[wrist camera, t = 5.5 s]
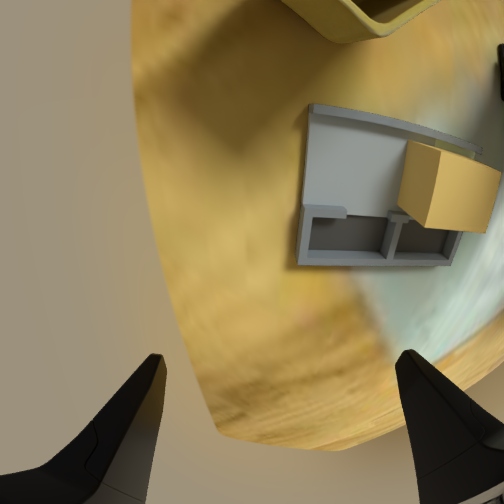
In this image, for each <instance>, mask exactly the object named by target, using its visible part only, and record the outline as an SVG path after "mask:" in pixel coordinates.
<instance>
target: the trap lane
mask: <svg viewBox="0 0 504 504" xmlns="http://www.w3.org/2000/svg"><path fill="white" fill-rule="evenodd" d="M408 140H411V141H415V142H419V143H423V144H426V145H430V146H433V147H437V148H440V149H444V150H447V151H450V152H453V153H456V154H459V155H462V156H465V157H468V158H471V159H473V160H474V157H475V152H476V153H478V154H482V147H479V146H477V145H474V144H472V143H469V142H467V141H464V140H462V139H459V138H456V137H454V136H451V135H448V134H445V133H442V132H439V131H436V130H433V129H430V128H427V127H424V126H420V125H417V124H413V123H410V122H406V121H402V120H399V119H395V118H391V117H386V116H382V115H378V114H373V113H368V112H363V111H358V110H353V109H347V108H341V107H334V106H328V105H320V104H309V114H308V129H307V142H306V155H305V166H304V177H303V188H302V198H301V207H300V217H299V226H298V234H297V242H296V251H295V257H296V261H297V264H298V265H326V266H451V263H452V261H453V258H454V255H455V253H456V250H457V247H458V244H459V242H460V239H461V236H462V233H463V231H457V230H447V229H436V228H424V227H423V226H422V225H421V224H420V223H419V222H417V221H416V220H415V219H414V218H413V217H411V216H410V215H409V214H408V213H407V212H405V211H404V210H403V209H402V208H401V207H399V206H398V205H397V201H398V196H399V191H400V186H401V181H402V175H403V170H404V164H405V157H406V151H407V144H408Z"/></svg>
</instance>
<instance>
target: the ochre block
mask: <svg viewBox="0 0 504 504" xmlns="http://www.w3.org/2000/svg"><path fill="white" fill-rule="evenodd" d="M501 173H502V172H500V171H498V170H495V169H493V168H491V167H489V166H487V165H485V164H482V163H480V162H478V161H475V160H473V159H471V158H468V157H465V156H462V155H459V154H456V153H453V152H450V151H447V150H444V149H440V148H437V147H433V146H430V145H426V144H423V143H419V142H415V141H411V140H408V144H407V151H406V157H405V164H404V170H403V175H402V181H401V186H400V191H399V196H398V201H397V205H398V206H399V207H401V208H402V209H403V210H404V211H405V212H407V213H408V214H409V215H410V216H411V217H413V218H414V219H415V220H416V221H417V222H419V223H420V224H421V225H422V226H423V227H424V228H436V229H447V230H457V231H467V232H476V233H486V230H487V227H488V224H489V220H490V217H491V214H492V210H493V207H494V203H495V199H496V195H497V191H498V187H499V182H500V178H501Z"/></svg>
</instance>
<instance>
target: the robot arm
mask: <svg viewBox="0 0 504 504" xmlns="http://www.w3.org/2000/svg"><path fill="white" fill-rule="evenodd" d="M499 47H500V59H501V97H502V100H503V101H504V44H500V45H499ZM395 370H396V376H397V381H398V388H399V394H400V400H401V404H402V408H403V412H404V416H405V420H406V425H407V429H408V434H409V438H410V443H411V448H412V453H413V458H414V464H415V470H416V477H417V484H418V492H419V500H420V504H504V424H503V423H502V422H500V421H499V420H498V419H496V418H495V417H494V416H492V415H491V414H490V413H488V412H487V411H486V410H484V409H483V408H482V407H480V406H479V405H478V404H477V403H476V402H475V401H473V400H472V399H471V398H470V397H469V396H468V395H467V394H465V393H464V392H463V391H462V390H461V389H460V388H459V387H457V386H456V385H455V384H454V383H453V382H452V381H450V380H449V379H448V378H447V377H446V376H445V375H443V374H442V373H441V372H440V371H439V370H437V369H436V368H435V367H434V366H433V365H432V364H430V363H429V362H428V361H427V360H426V359H424V358H423V357H422V356H421V355H420V354H418V353H417V352H416V351H415V350H413V349H409V350H404V351H403V352H402V354H401V356H400V357H399V359H398V360H397V362H396V364H395ZM166 375H167V368H166V364H165V361H164V358H163V355H161V354H154V353H152V354H150V355H149V356H148V357H147V358H146V359H145V361H144V362H143V363H142V364H141V365H140V366H139V367H138V369H137V370H136V371H135V372H134V373H133V374H132V375H131V376H130V378H129V379H128V380H127V381H126V382H125V383H124V384H123V385H122V386H121V388H120V389H119V390H118V391H117V392H116V393H115V394H114V395H113V397H112V398H111V399H110V400H109V401H108V402H107V403H106V404H105V406H104V407H103V408H102V409H101V410H100V411H99V412H98V414H97V415H96V416H95V417H94V418H93V420H92V421H90V422H89V424H88V425H87V426H86V427H85V428H84V429H83V430H82V431H81V432H80V433H79V434H78V436H77V437H76V438H74V439H73V440H72V441H71V442H70V443H69V444H68V445H67V446H66V447H64V448H63V449H62V450H61V451H60V452H59V453H57V454H56V455H55V456H54V457H53V458H52V459H51V460H49V461H48V462H47V463H45V464H44V465H42V466H40V467H37V468H34V469H30V470H26V471H21V472H16V473H12V474H6V475H0V504H145V501H146V496H147V489H148V483H149V478H150V472H151V467H152V462H153V456H154V451H155V446H156V441H157V436H158V431H159V427H160V422H161V418H162V412H163V405H164V395H165V385H166Z"/></svg>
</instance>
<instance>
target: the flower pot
mask: <svg viewBox="0 0 504 504" xmlns="http://www.w3.org/2000/svg"><path fill="white" fill-rule="evenodd" d="M281 1H282V2H283V3H285V4H286V5H287V6H288V7H290V8H291V9H292V10H293V11H295V12H296V13H297V14H298V15H299V16H301V17H302V18H303V19H304V20H305V21H306V22H308V23H309V24H310V25H311V26H312V27H313V28H314V29H315V30H316V31H317V32H318V33H320V34H321V35H322V36H323V37H325V38H326V39H328V40H329V41H332V42H335V43H342V44H344V43H351V42H357V41H362V40H368V39H374V38H381V37H386V36H388V35H390V34H392V33H393V32H395V31H396V30H397V29H399V28H400V27H401V26H403V25H404V24H406V23H407V22H408V21H410V20H411V19H413V18H414V17H416V16H417V15H419V14H420V13H422V12H423V11H425V10H426V9H428V8H429V7H431V6H433V5H434V4H436V3H438V2H439V1H441V0H281Z"/></svg>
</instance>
